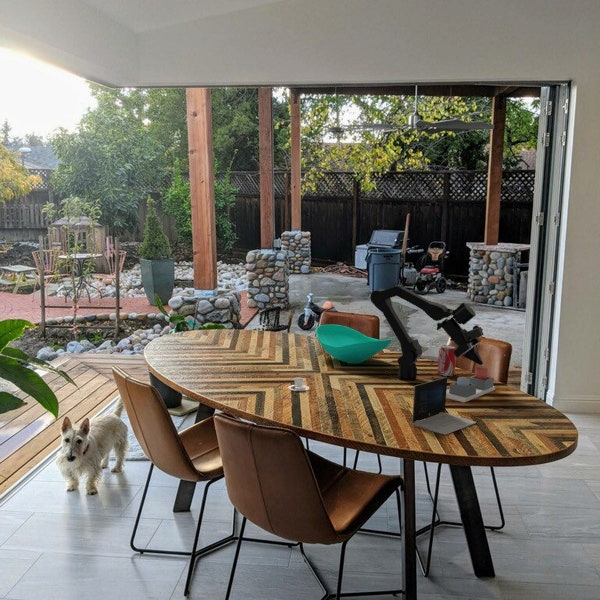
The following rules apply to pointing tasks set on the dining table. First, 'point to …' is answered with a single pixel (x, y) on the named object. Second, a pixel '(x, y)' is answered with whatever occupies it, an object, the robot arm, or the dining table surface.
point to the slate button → (463, 381)
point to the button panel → (470, 389)
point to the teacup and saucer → (299, 385)
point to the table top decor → (348, 343)
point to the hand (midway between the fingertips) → (481, 364)
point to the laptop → (435, 408)
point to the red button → (481, 372)
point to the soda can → (446, 360)
